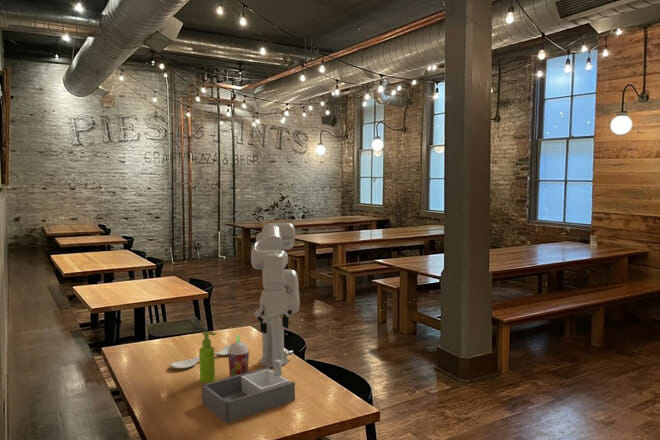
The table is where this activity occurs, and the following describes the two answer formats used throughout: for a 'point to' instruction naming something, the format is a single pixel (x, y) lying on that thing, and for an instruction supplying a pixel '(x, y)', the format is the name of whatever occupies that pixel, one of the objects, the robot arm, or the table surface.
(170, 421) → the table surface
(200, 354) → the soap dispenser
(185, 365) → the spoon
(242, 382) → the drawer
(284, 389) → the bay
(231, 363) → the smoothie
